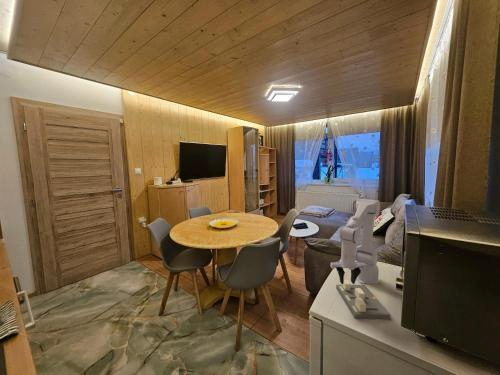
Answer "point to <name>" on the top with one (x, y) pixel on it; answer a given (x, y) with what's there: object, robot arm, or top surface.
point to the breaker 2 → (360, 304)
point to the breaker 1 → (346, 284)
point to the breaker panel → (372, 304)
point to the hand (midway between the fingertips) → (347, 282)
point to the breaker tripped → (359, 293)
